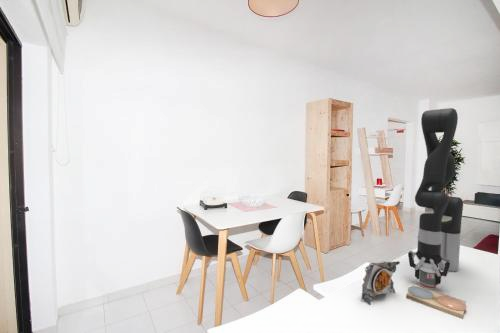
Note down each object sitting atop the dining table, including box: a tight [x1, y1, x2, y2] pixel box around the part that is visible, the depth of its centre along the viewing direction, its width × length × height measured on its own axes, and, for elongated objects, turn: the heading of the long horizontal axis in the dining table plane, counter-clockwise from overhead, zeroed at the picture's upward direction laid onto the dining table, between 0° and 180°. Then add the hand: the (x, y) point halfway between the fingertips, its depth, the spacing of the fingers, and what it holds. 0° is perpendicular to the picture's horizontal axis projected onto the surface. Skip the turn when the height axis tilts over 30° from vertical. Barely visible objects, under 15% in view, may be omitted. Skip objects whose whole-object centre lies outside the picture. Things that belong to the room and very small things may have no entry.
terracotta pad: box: [437, 295, 467, 312], centre depth 86 cm, size 8×8×1 cm
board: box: [405, 283, 467, 319], centre depth 89 cm, size 10×16×1 cm, turn 45°
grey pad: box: [407, 285, 434, 299], centre depth 93 cm, size 8×8×1 cm
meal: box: [361, 260, 401, 306], centre depth 92 cm, size 15×4×13 cm, turn 115°
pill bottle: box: [418, 262, 437, 290], centre depth 99 cm, size 6×6×10 cm
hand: (427, 280), depth 99 cm, fingers closed on pill bottle, 5 cm apart
